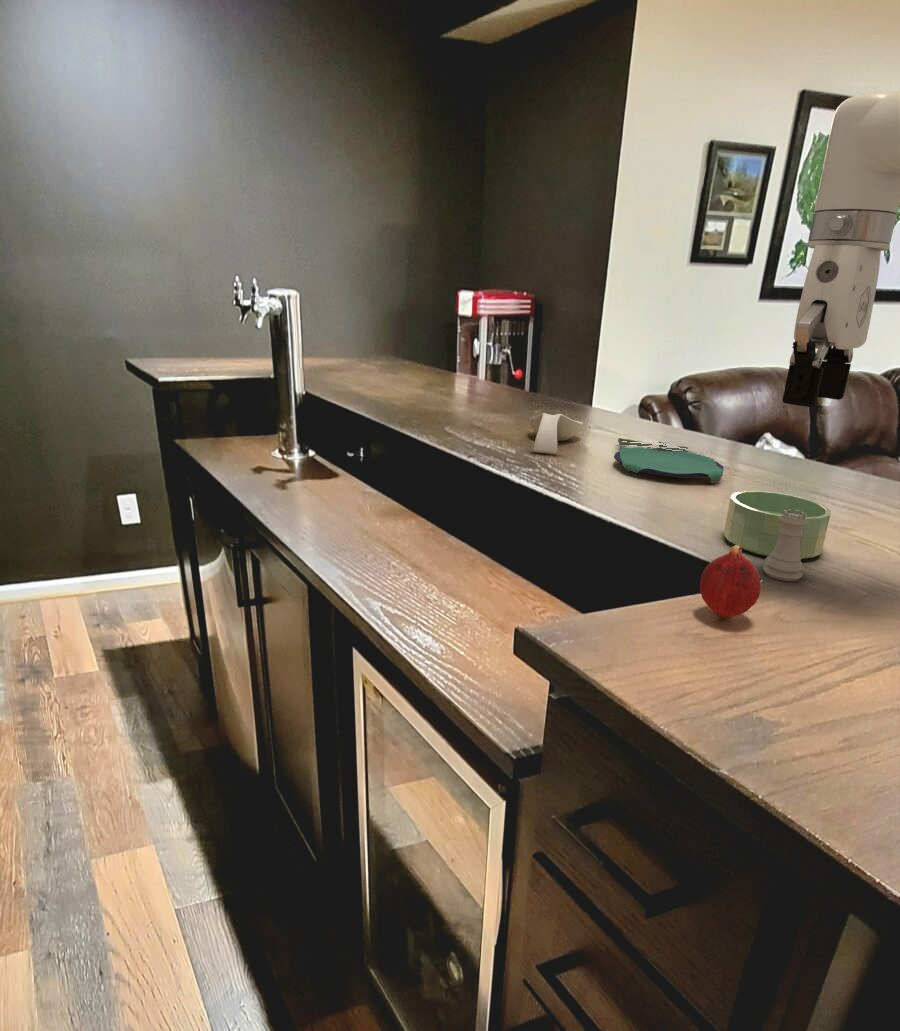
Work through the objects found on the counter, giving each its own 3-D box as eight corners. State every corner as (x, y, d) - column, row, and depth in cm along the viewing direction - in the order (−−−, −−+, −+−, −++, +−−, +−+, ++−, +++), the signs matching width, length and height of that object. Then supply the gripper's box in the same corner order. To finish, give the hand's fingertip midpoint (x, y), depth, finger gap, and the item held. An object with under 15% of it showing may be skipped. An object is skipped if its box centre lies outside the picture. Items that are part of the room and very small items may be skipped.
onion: (762, 633, 72) (778, 558, 70) (705, 630, 72) (719, 555, 70) (739, 607, 78) (754, 538, 75) (687, 605, 78) (699, 535, 75)
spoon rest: (530, 430, 165) (533, 398, 163) (582, 435, 162) (586, 403, 160) (516, 451, 143) (519, 416, 141) (576, 458, 140) (580, 422, 138)
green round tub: (800, 534, 103) (809, 494, 101) (836, 566, 92) (846, 521, 90) (713, 527, 104) (720, 487, 102) (738, 558, 92) (746, 513, 91)
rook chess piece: (755, 572, 88) (768, 510, 85) (772, 565, 91) (785, 504, 88) (791, 585, 85) (806, 521, 82) (807, 576, 88) (822, 514, 85)
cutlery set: (615, 479, 127) (617, 466, 126) (607, 443, 155) (609, 433, 155) (732, 490, 124) (734, 477, 124) (703, 452, 153) (705, 441, 152)
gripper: (867, 226, 65) (825, 414, 70) (911, 240, 77) (871, 400, 83) (782, 225, 70) (748, 402, 75) (836, 239, 82) (803, 390, 87)
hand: (813, 401), depth 79 cm, fingers open, 9 cm apart
